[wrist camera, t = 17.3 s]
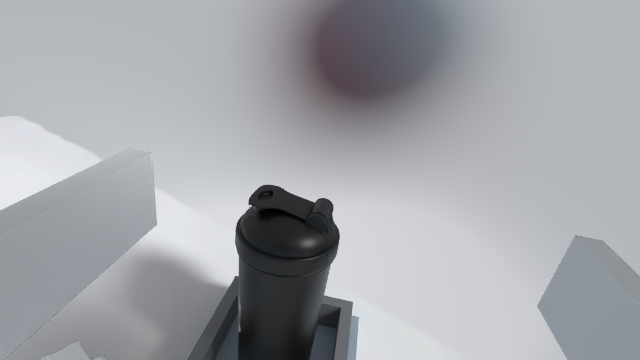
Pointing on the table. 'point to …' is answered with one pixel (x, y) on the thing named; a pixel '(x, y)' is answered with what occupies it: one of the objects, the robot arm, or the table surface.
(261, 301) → the water bottle
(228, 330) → the walled base tray
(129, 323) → the table surface
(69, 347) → the mounting bracket
